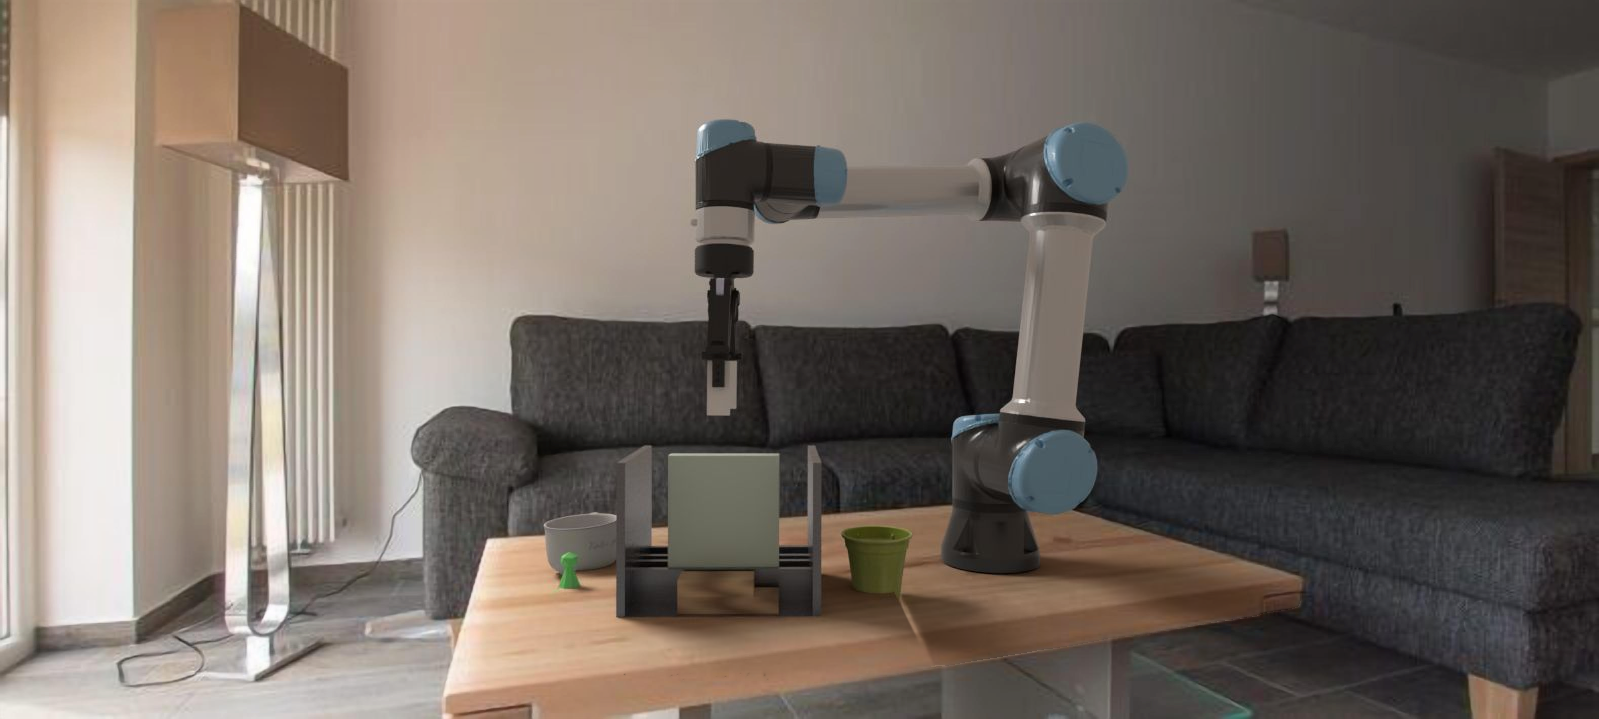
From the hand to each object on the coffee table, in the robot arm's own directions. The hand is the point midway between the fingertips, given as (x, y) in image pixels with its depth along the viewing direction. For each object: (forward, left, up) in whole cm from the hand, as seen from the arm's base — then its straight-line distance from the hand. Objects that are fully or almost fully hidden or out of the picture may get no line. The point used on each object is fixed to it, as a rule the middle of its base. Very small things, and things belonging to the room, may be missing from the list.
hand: (722, 412), depth 104 cm
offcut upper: (0, +5, -21) cm, 22 cm away
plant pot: (-20, -4, -25) cm, 33 cm away
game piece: (+21, -5, -25) cm, 33 cm away
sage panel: (0, 0, -23) cm, 23 cm away
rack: (0, -1, -25) cm, 25 cm away
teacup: (+22, -19, -25) cm, 38 cm away
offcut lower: (-1, +5, -23) cm, 24 cm away
